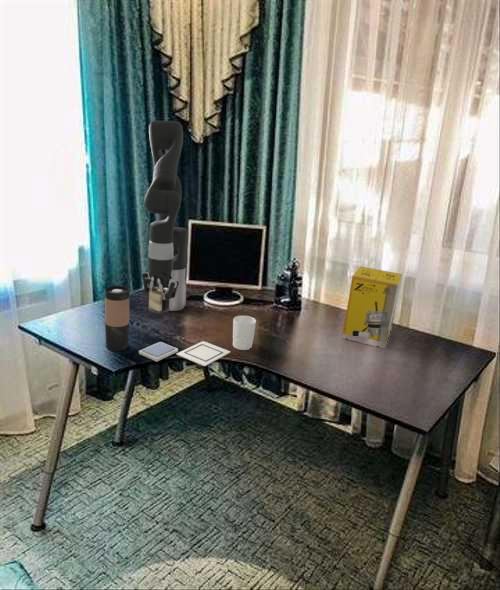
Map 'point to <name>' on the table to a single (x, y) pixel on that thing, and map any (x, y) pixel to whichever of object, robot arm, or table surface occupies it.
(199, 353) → the sheet
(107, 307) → the travel mug
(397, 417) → the table surface
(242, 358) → the table surface
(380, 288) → the packaging box
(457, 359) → the table surface
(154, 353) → the ink pad
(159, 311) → the stamp
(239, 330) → the white cup
